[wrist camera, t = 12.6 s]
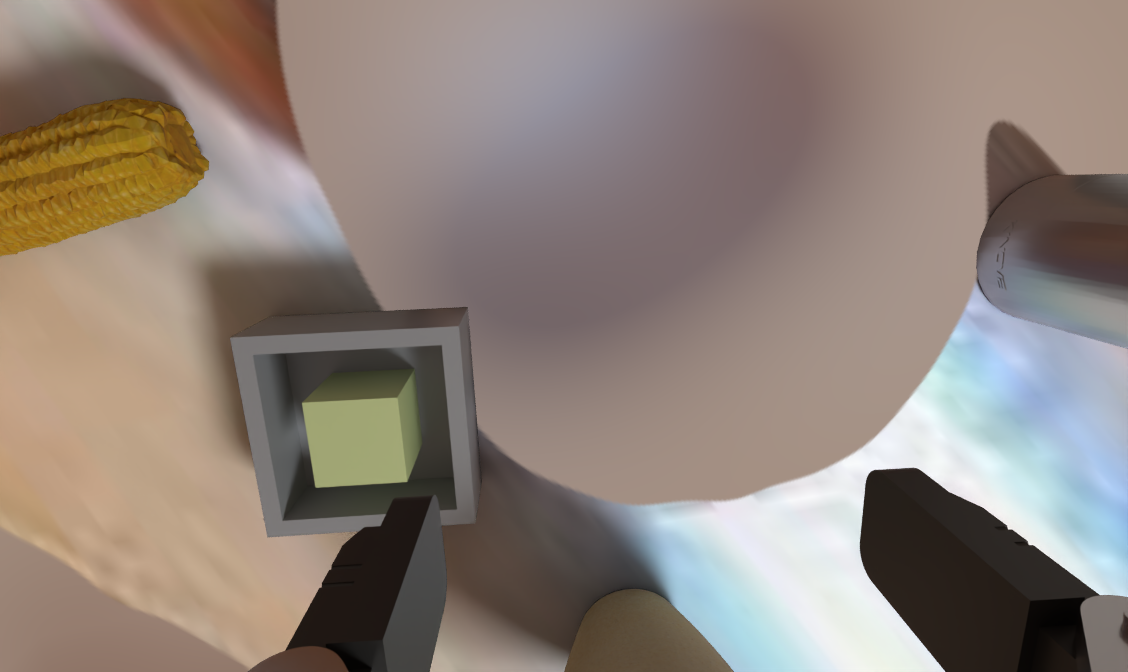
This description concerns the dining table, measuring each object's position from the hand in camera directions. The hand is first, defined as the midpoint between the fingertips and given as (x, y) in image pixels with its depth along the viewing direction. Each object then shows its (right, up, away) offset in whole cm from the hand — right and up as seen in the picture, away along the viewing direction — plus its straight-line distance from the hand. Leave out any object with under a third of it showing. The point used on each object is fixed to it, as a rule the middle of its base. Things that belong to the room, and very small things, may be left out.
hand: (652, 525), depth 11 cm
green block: (-13, -1, +26) cm, 29 cm away
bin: (-13, -1, +27) cm, 30 cm away
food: (-31, +11, +23) cm, 40 cm away
